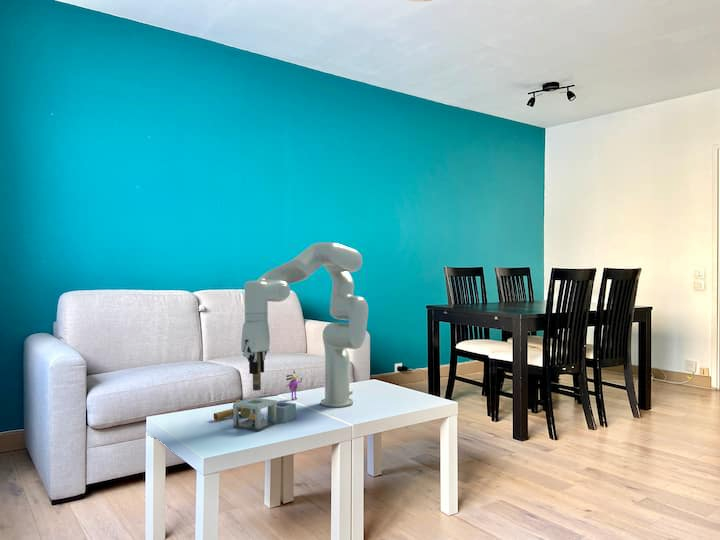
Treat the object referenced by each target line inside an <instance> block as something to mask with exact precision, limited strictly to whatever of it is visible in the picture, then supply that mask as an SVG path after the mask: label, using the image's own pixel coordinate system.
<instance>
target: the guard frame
mask: <svg viewBox="0 0 720 540" xmlns="http://www.w3.org/2000/svg"><path fill="white" fill-rule="evenodd" d="M235 402H236V401H235ZM235 402H234V403H233V404H234V415H233V420H232V421H233V423H232V425H233V429H239V430H245V431H250V432H256V433H259V432H261V431H264V430H266V429H269V428H271V427H274V426H276V425H277V422H276V413H277V402H278V401H277V400H276V399H267V398H262V397H261V398H260V397H256V398H254V397H253V396H252V398H251V397H249V398H246V399H243V400H242V401H240V402H236V403H235ZM255 403H257V404H255ZM271 405H272V408H271V420H267V419H263V418H262V414H261V410H262V409H265V408H268V406H271ZM239 407H241V408H248V409H250V415H251V414H255V422H252V420H250V419H249V418H247V419H246V420H242V421H240V420H239V419H240V416H239V415H240V412H239Z"/></svg>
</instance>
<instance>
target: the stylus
mask: <svg viewBox="0 0 720 540" xmlns="http://www.w3.org/2000/svg"><path fill="white" fill-rule="evenodd" d="M257 362H258V374H252V391H261V390H262V386H261V383H262V382H261V381H262V380H261V379H262V377H261V375H262V372H261V359H260V352H257Z"/></svg>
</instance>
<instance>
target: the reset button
mask: <svg viewBox="0 0 720 540" xmlns="http://www.w3.org/2000/svg"><path fill="white" fill-rule="evenodd" d="M248 419H250V420H252V422H255V414H251V415H249V417H248Z"/></svg>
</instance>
